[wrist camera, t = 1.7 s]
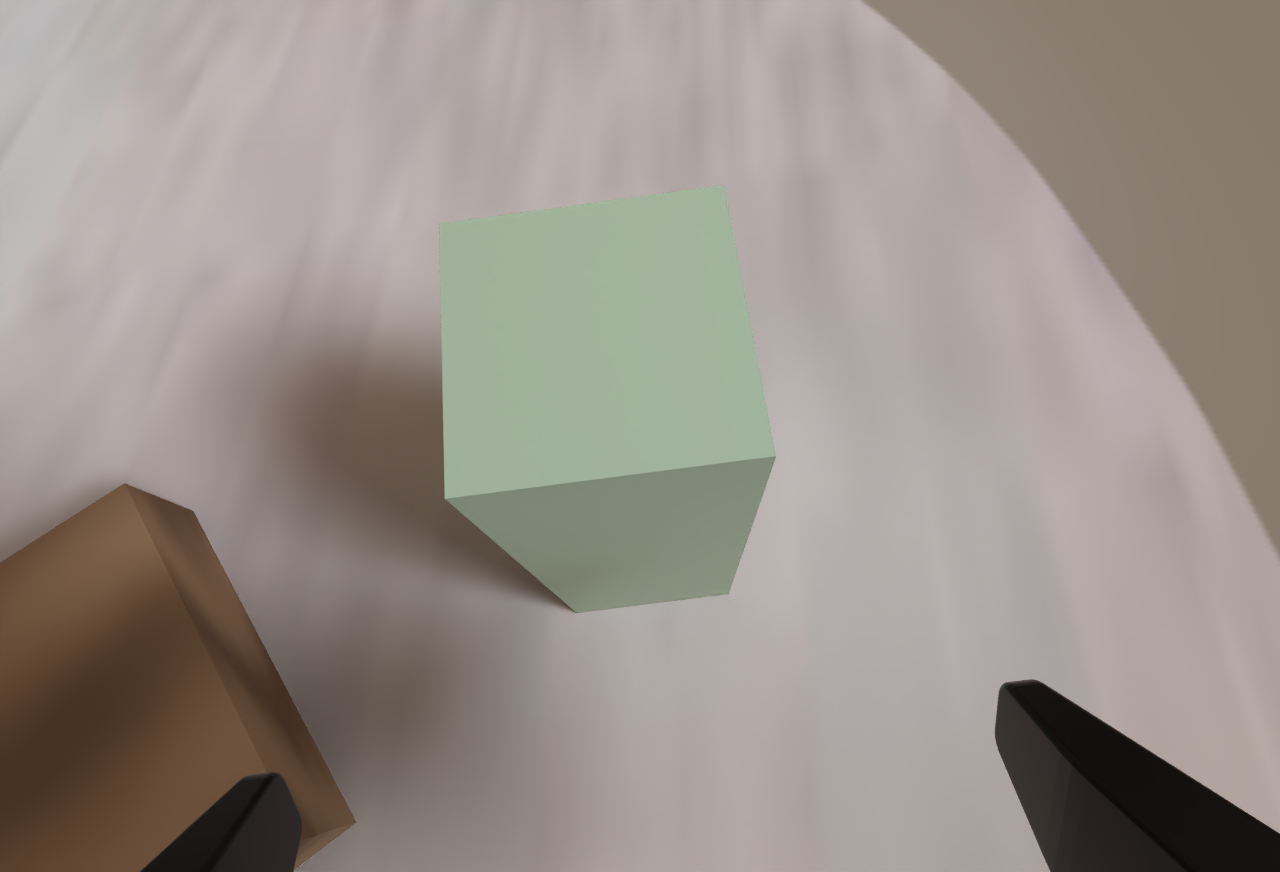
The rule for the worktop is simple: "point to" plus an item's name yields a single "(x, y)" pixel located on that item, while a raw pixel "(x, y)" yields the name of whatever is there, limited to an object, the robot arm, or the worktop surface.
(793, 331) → the worktop surface
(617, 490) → the green block
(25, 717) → the walnut riser
